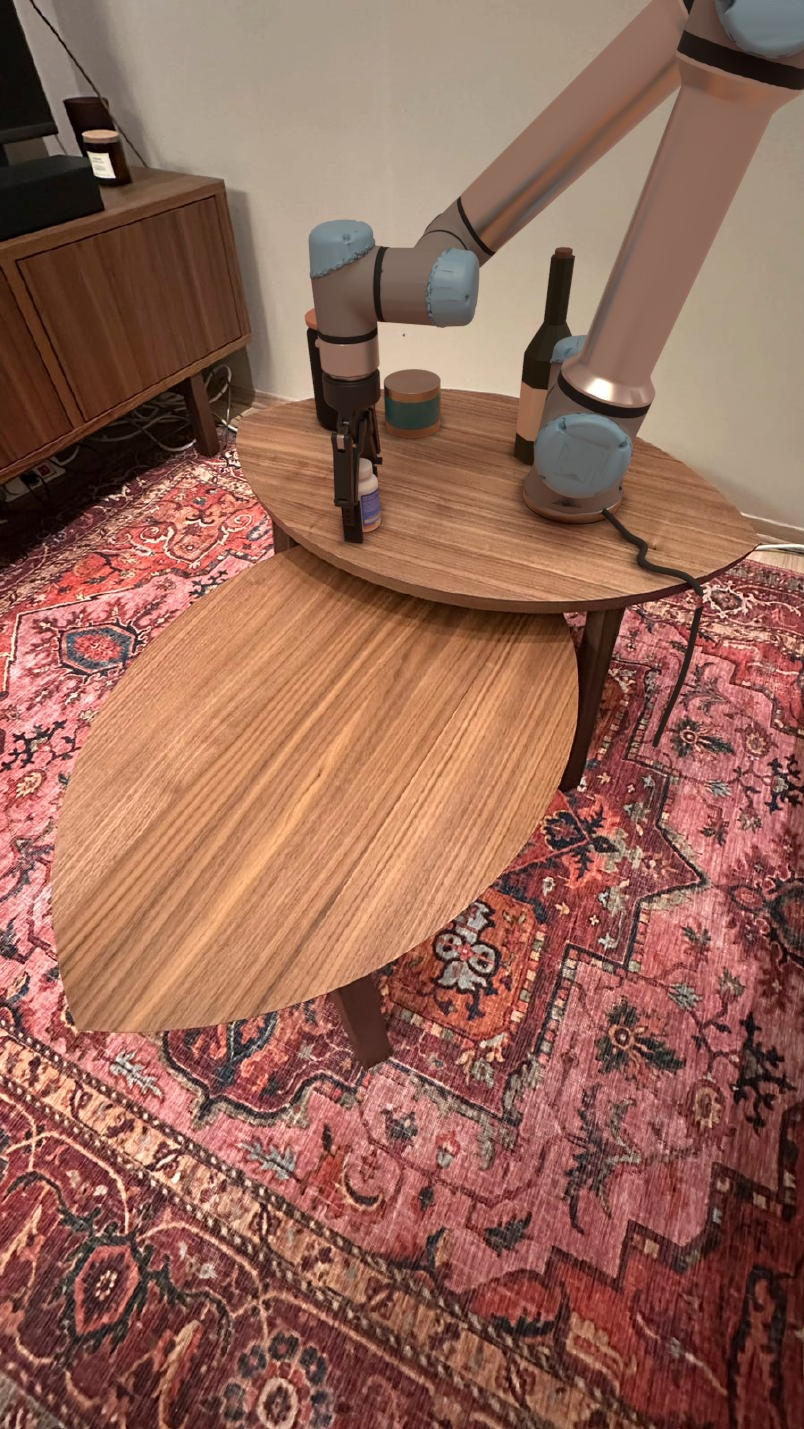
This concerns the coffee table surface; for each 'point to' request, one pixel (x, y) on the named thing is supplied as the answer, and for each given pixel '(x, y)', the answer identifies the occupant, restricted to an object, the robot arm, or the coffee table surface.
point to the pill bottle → (368, 496)
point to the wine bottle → (543, 354)
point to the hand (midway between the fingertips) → (362, 522)
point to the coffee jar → (318, 376)
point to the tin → (412, 403)
